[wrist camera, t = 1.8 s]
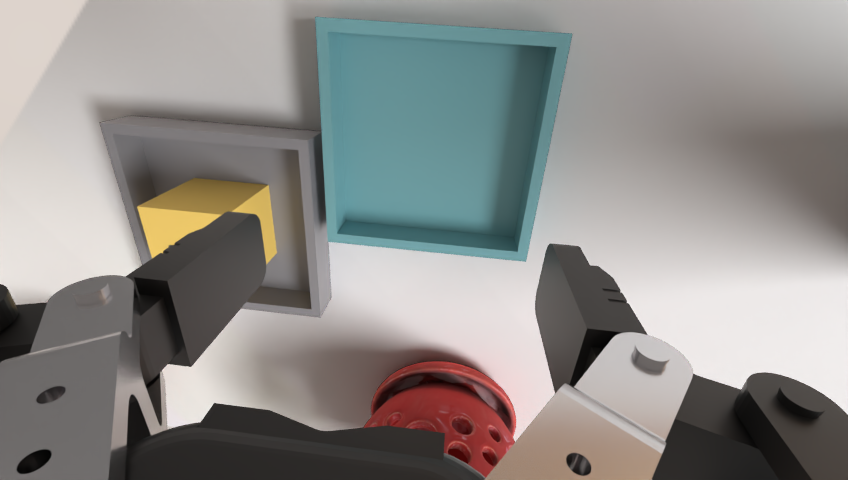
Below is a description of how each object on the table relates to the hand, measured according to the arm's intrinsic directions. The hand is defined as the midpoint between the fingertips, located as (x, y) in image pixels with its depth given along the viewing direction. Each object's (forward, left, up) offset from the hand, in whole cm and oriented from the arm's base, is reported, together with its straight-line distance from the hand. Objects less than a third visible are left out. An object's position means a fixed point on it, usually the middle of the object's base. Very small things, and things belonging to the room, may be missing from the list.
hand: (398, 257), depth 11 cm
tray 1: (+13, +6, -14) cm, 20 cm away
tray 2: (0, 0, -14) cm, 14 cm away
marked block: (+13, +6, -14) cm, 20 cm away
